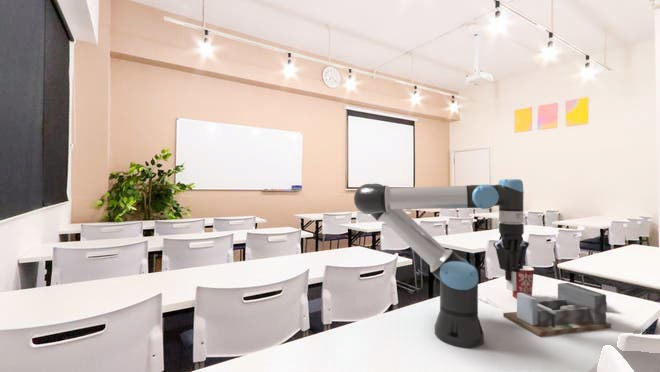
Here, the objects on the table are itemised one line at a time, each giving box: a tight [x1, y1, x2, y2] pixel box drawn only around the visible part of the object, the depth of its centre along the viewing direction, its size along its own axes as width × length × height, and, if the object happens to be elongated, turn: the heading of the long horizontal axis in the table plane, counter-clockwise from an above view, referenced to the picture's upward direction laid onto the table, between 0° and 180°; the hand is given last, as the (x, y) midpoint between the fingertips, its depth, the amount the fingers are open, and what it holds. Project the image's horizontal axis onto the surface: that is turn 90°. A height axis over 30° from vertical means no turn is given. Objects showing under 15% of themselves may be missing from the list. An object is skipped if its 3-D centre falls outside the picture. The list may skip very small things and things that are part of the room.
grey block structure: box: [502, 282, 612, 338], centre depth 114 cm, size 30×16×12 cm, turn 102°
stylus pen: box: [478, 294, 506, 312], centre depth 131 cm, size 15×3×2 cm, turn 17°
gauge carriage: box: [516, 293, 556, 328], centre depth 110 cm, size 8×11×9 cm
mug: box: [511, 265, 535, 299], centre depth 139 cm, size 13×9×14 cm
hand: (511, 289), depth 110 cm, fingers closed
